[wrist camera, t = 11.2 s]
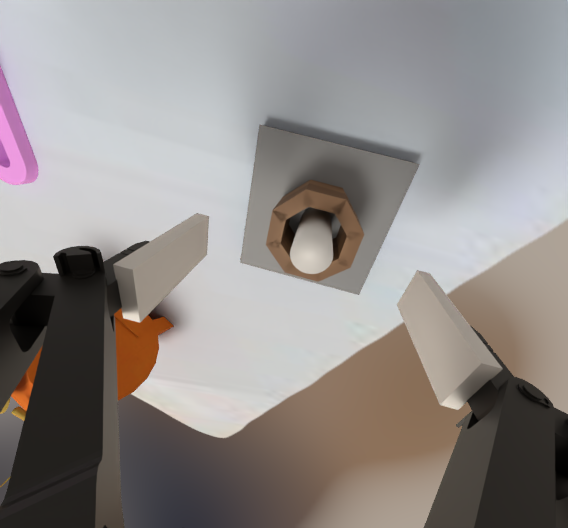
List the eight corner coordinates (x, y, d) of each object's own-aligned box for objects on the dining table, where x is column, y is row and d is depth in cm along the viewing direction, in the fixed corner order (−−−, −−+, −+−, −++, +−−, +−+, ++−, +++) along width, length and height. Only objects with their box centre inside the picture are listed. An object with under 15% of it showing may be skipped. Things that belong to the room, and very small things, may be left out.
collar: (287, 173, 22) (277, 182, 17) (365, 193, 21) (375, 207, 17) (272, 244, 25) (261, 266, 21) (339, 262, 25) (342, 288, 21)
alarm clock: (93, 287, 35) (-140, 433, 18) (114, 268, 33) (-132, 416, 15) (159, 345, 39) (21, 512, 21) (182, 332, 36) (48, 508, 19)
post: (263, 125, 22) (224, 116, 13) (413, 162, 21) (470, 177, 13) (244, 256, 28) (210, 305, 20) (357, 287, 28) (370, 350, 19)
